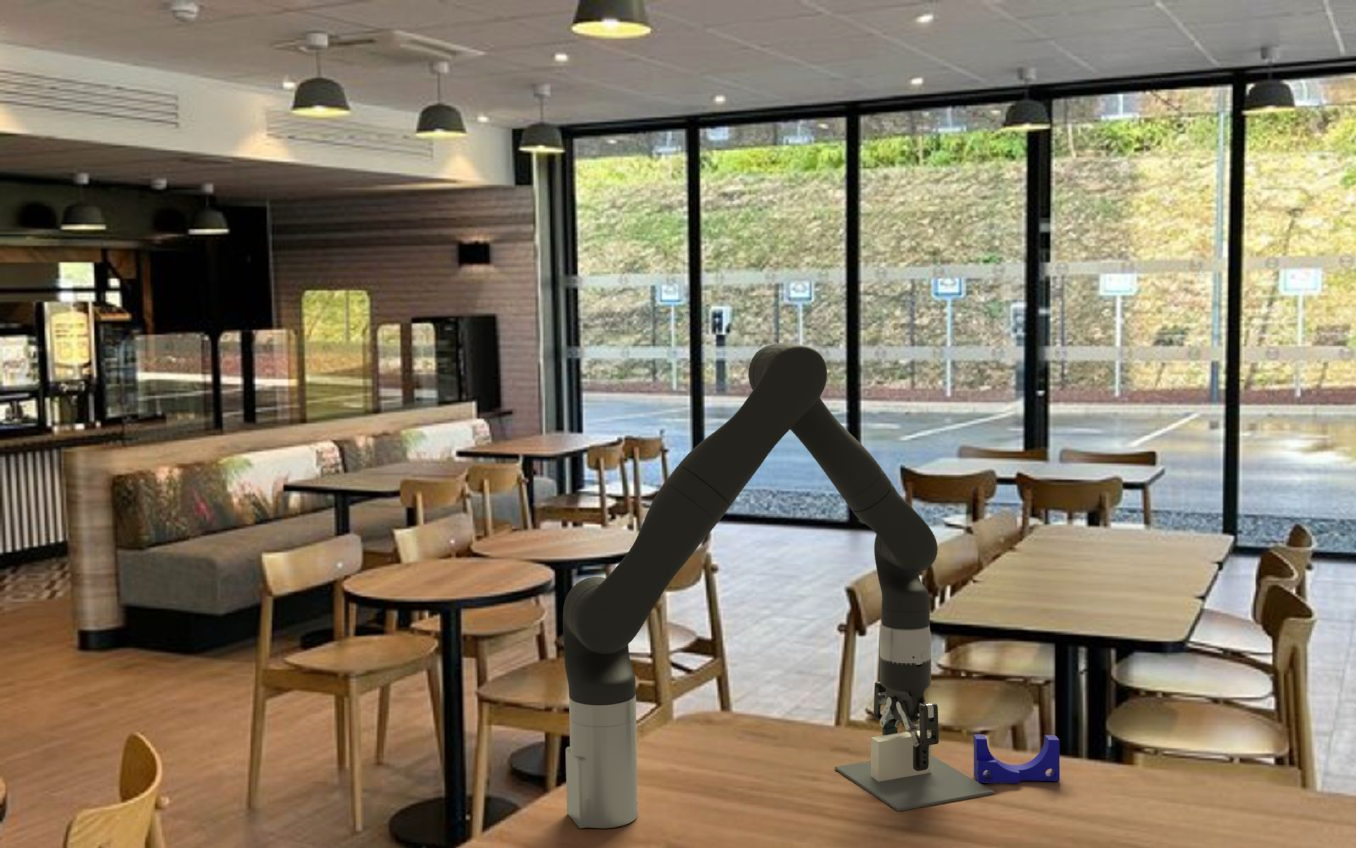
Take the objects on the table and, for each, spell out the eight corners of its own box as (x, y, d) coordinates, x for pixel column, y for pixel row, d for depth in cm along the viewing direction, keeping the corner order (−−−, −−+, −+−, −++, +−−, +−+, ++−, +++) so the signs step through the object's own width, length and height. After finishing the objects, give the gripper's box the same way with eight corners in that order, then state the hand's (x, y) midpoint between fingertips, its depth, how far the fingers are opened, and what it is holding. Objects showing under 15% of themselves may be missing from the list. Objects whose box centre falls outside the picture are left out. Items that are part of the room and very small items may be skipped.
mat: (897, 811, 184) (897, 808, 184) (835, 769, 201) (834, 766, 201) (993, 793, 190) (993, 791, 190) (925, 754, 207) (925, 752, 206)
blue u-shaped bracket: (978, 782, 193) (978, 741, 193) (973, 774, 198) (973, 734, 198) (1061, 783, 192) (1061, 742, 192) (1055, 775, 197) (1055, 735, 197)
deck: (878, 781, 194) (878, 742, 194) (870, 776, 196) (870, 737, 196) (930, 772, 198) (931, 733, 197) (922, 767, 200) (922, 729, 199)
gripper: (859, 645, 200) (859, 749, 202) (909, 669, 187) (909, 780, 189) (901, 640, 203) (901, 742, 205) (954, 663, 190) (953, 772, 192)
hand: (905, 760), depth 197 cm, fingers open, 8 cm apart
